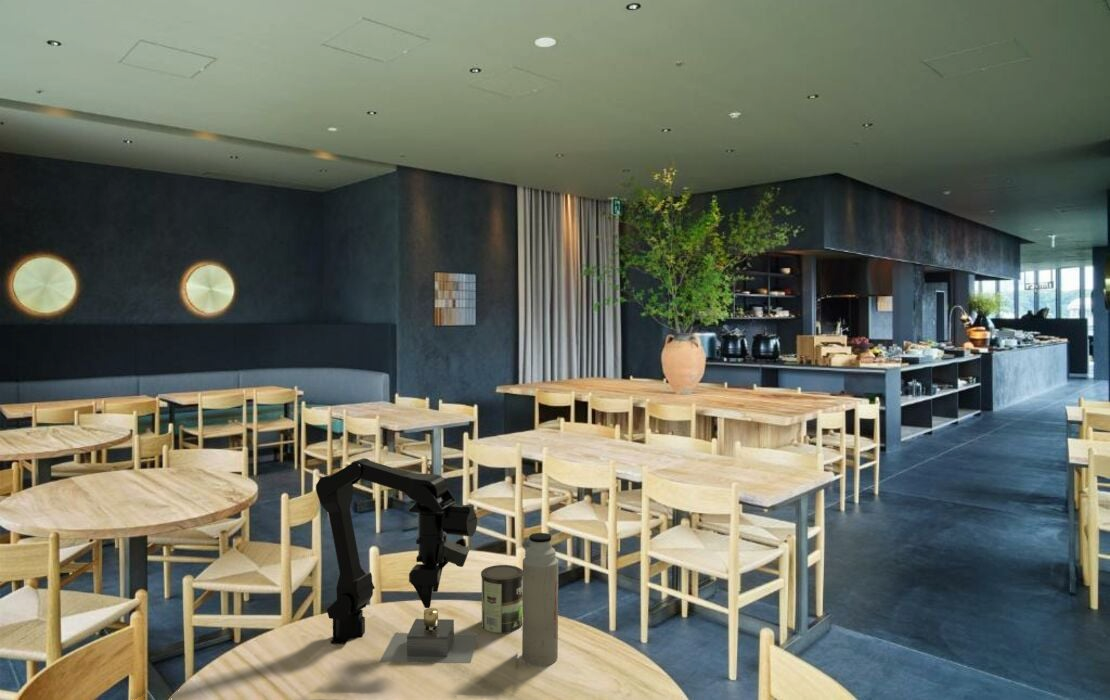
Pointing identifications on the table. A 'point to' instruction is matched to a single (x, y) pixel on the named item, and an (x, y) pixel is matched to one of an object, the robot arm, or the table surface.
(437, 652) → the grey knob block
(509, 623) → the coffee can
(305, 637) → the table surface
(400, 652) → the slate board
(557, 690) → the table surface
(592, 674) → the table surface
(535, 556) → the thermos bottle
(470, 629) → the table surface
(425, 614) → the golden knob
